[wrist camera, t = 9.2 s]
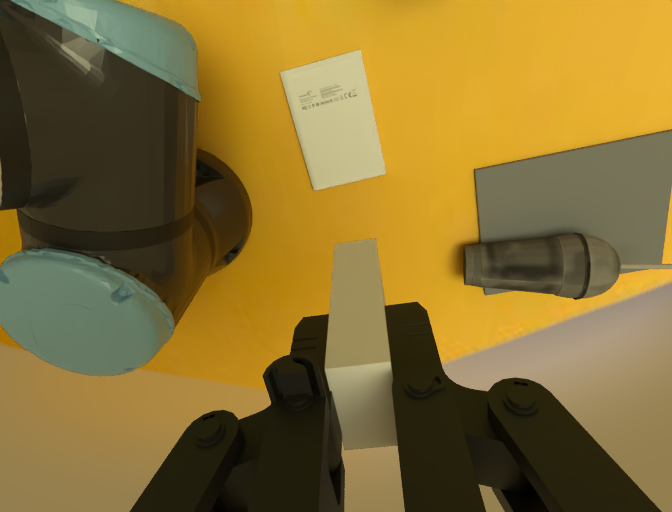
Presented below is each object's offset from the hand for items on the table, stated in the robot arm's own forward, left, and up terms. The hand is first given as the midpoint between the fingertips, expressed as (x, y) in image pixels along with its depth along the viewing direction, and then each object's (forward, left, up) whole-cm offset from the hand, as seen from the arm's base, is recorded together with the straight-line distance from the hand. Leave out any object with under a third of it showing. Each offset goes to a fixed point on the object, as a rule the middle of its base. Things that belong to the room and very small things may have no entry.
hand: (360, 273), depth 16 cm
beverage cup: (+9, -18, -30) cm, 35 cm away
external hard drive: (-2, 0, -33) cm, 33 cm away
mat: (+21, -15, -32) cm, 41 cm away
